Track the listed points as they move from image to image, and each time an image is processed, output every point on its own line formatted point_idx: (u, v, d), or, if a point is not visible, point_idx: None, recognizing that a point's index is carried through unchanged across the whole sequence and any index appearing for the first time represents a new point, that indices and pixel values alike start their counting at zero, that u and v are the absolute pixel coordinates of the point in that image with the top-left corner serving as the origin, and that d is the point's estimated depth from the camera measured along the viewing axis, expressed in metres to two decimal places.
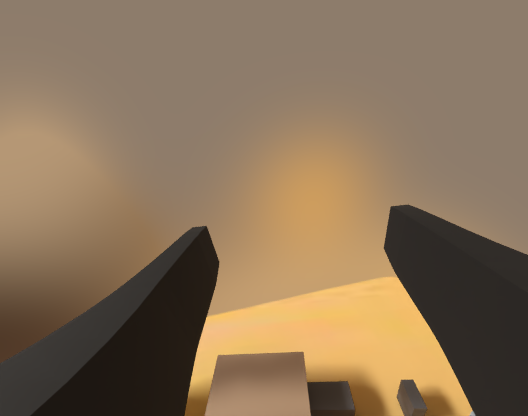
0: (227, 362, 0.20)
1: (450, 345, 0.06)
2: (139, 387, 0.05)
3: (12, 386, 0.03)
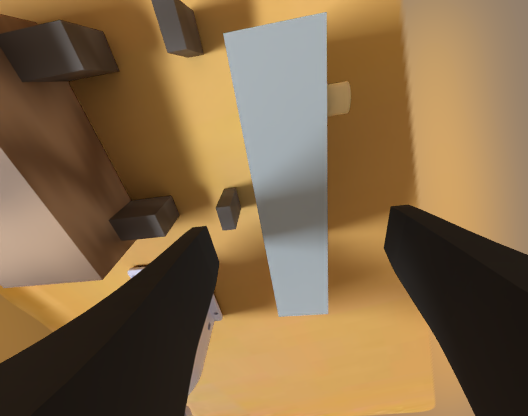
0: None
1: (450, 345, 0.06)
2: (139, 387, 0.05)
3: (13, 385, 0.03)
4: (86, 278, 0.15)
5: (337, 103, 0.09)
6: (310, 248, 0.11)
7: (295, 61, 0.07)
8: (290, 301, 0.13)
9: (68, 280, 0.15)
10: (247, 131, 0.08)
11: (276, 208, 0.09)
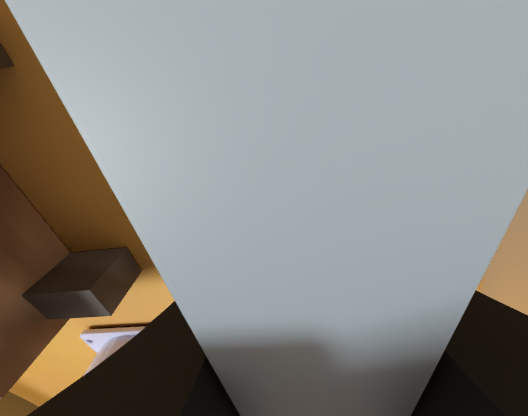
0: None
1: None
2: None
3: (136, 382, 0.03)
4: None
5: None
6: None
7: None
8: None
9: None
10: (177, 275, 0.02)
11: (280, 406, 0.04)
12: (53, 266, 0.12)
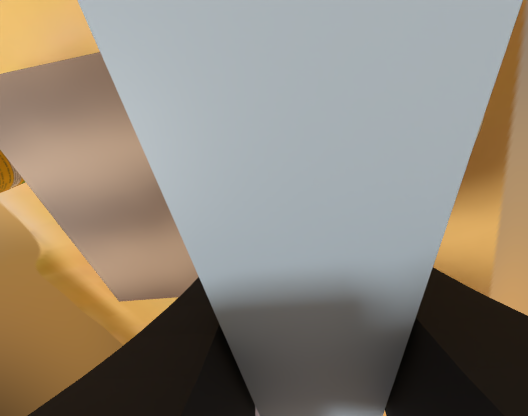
0: None
1: None
2: (232, 385, 0.04)
3: (136, 382, 0.03)
4: None
5: None
6: (348, 413, 0.05)
7: None
8: None
9: None
10: (194, 234, 0.03)
11: (280, 367, 0.04)
12: None
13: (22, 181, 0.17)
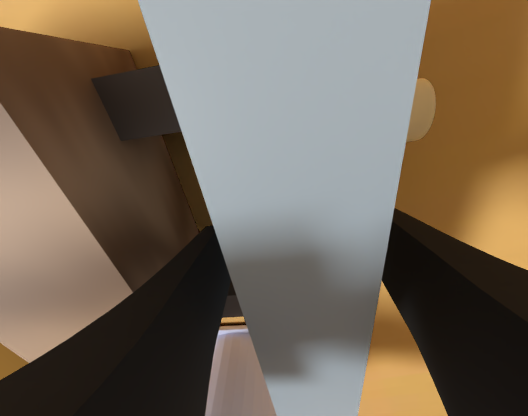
0: None
1: (426, 346, 0.06)
2: (166, 386, 0.04)
3: (48, 384, 0.03)
4: None
5: None
6: (337, 365, 0.06)
7: (334, 18, 0.02)
8: None
9: None
10: (213, 192, 0.03)
11: (277, 316, 0.05)
12: None
13: None
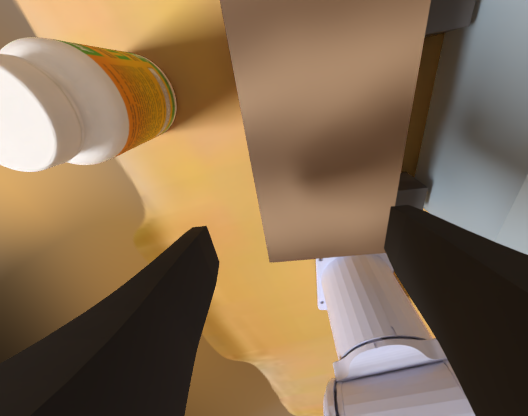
0: None
1: (450, 345, 0.06)
2: (139, 387, 0.05)
3: (13, 385, 0.03)
4: (370, 251, 0.15)
5: None
6: None
7: None
8: (512, 240, 0.12)
9: (348, 254, 0.15)
10: None
11: None
12: None
13: (163, 131, 0.16)
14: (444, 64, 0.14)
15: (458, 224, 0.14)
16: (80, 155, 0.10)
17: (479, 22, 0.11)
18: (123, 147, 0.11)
